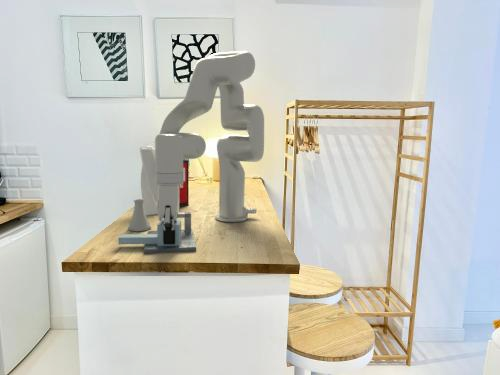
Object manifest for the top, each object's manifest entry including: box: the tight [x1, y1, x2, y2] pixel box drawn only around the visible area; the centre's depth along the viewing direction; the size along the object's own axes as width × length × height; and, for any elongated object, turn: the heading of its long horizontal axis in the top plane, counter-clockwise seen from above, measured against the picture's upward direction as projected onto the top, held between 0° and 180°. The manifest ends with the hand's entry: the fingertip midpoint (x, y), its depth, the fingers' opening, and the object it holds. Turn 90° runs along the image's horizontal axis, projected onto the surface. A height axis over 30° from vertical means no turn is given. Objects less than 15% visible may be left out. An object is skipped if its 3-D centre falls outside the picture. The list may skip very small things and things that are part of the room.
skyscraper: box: [139, 141, 159, 216], centre depth 141 cm, size 8×8×28 cm
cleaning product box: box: [158, 159, 190, 208], centre depth 160 cm, size 16×9×20 cm, turn 40°
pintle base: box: [143, 211, 197, 255], centre depth 107 cm, size 14×18×7 cm
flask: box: [127, 198, 152, 232], centre depth 120 cm, size 7×7×10 cm
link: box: [117, 218, 182, 246], centre depth 103 cm, size 17×6×6 cm, turn 95°
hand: (170, 239), depth 104 cm, fingers closed on link, 6 cm apart
